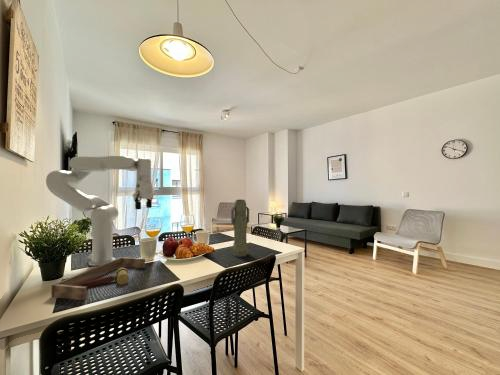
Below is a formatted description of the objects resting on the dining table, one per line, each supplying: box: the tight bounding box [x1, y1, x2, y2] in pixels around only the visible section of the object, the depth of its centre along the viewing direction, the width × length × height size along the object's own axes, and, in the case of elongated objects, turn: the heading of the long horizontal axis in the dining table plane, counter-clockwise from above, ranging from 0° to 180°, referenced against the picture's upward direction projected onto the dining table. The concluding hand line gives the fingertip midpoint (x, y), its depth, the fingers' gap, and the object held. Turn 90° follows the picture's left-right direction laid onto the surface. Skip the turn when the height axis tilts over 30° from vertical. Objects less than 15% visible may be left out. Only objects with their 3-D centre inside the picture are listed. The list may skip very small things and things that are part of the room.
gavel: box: [76, 267, 130, 289], centre depth 95 cm, size 21×5×10 cm
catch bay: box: [50, 256, 146, 301], centre depth 100 cm, size 15×35×4 cm, turn 170°
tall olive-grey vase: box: [230, 199, 250, 258], centre depth 138 cm, size 9×12×35 cm
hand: (143, 208), depth 128 cm, fingers open, 9 cm apart
